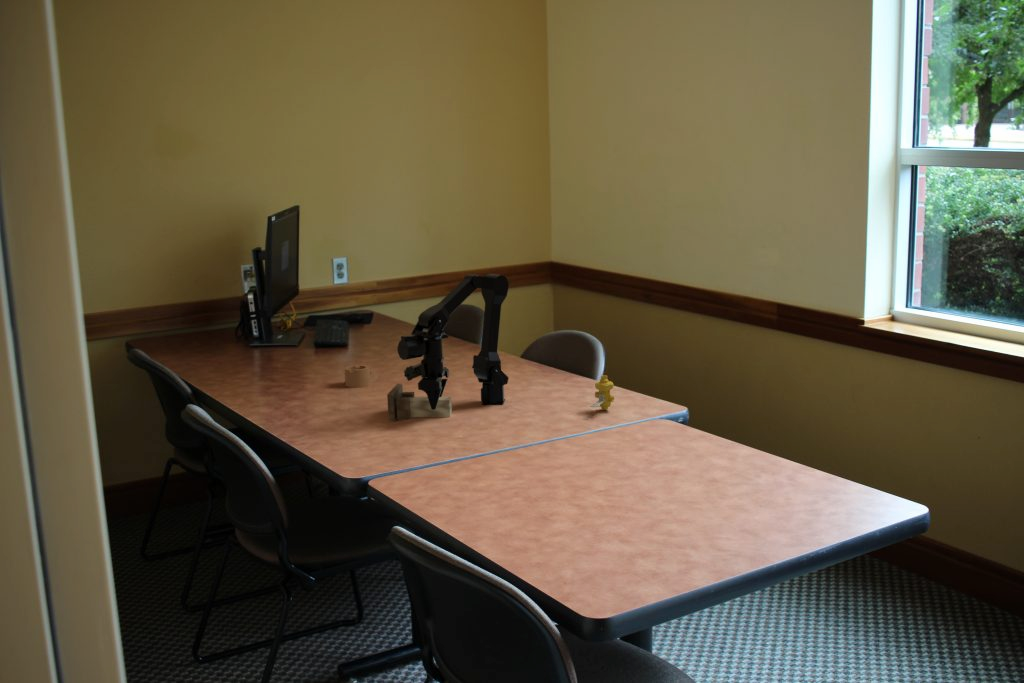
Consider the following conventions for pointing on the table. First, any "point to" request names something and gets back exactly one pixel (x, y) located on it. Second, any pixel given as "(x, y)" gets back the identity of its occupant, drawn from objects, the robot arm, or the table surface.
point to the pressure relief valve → (603, 393)
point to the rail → (423, 408)
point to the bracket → (359, 376)
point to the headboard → (398, 404)
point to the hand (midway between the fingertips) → (435, 406)
